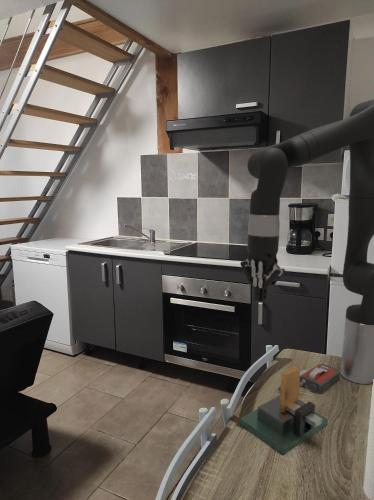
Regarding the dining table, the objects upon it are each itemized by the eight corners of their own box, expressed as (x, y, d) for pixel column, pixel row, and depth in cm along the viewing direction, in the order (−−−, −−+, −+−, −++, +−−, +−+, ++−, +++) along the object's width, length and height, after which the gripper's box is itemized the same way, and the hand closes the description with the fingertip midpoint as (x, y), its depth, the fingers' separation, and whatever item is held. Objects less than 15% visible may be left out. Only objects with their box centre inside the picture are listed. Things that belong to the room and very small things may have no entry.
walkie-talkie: (313, 368, 111) (275, 392, 97) (315, 354, 110) (276, 377, 97) (342, 379, 104) (305, 407, 91) (343, 365, 103) (306, 391, 90)
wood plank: (293, 402, 84) (295, 366, 82) (325, 420, 78) (329, 381, 76) (279, 410, 81) (281, 372, 79) (311, 430, 75) (315, 389, 73)
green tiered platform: (284, 400, 93) (285, 374, 92) (326, 424, 84) (329, 396, 83) (239, 424, 84) (241, 395, 82) (282, 454, 74) (284, 423, 73)
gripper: (295, 235, 87) (291, 305, 90) (253, 229, 97) (250, 292, 100) (275, 237, 82) (270, 311, 85) (233, 231, 92) (230, 297, 95)
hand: (260, 301), depth 92 cm, fingers closed
